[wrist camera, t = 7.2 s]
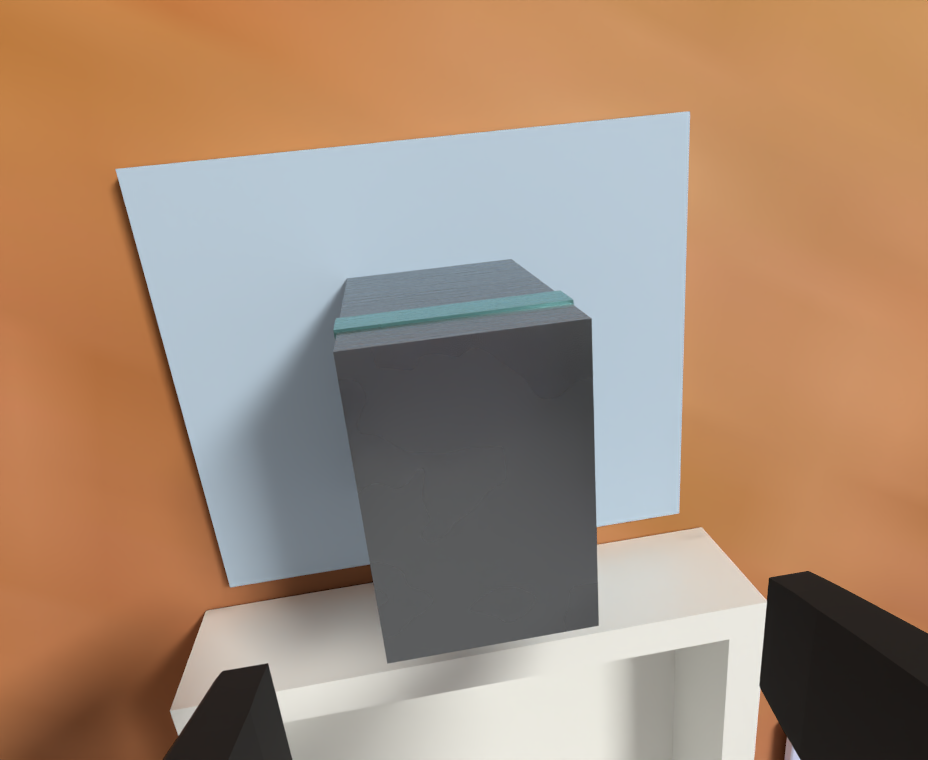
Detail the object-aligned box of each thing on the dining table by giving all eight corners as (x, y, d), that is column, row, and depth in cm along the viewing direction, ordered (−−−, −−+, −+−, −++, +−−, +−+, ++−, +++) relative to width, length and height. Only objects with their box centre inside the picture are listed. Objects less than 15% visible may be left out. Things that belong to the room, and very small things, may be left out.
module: (513, 256, 15) (595, 315, 10) (528, 476, 18) (601, 627, 12) (344, 276, 15) (329, 349, 9) (380, 498, 17) (385, 666, 12)
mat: (680, 112, 15) (690, 111, 15) (671, 504, 19) (678, 513, 19) (123, 168, 14) (115, 168, 14) (233, 576, 18) (230, 587, 17)
